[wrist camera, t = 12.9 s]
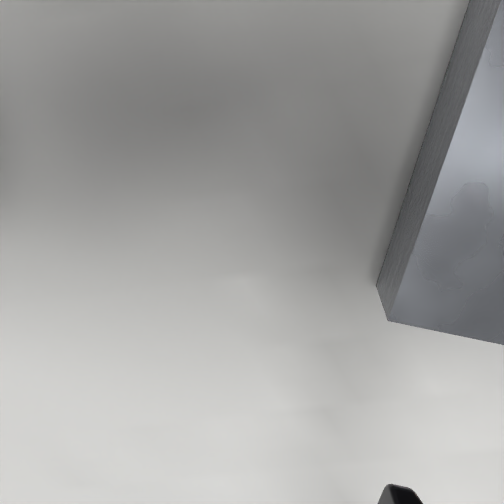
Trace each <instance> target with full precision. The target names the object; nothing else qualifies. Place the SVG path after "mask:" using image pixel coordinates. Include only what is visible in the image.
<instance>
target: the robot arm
mask: <svg viewBox="0 0 504 504" xmlns="http://www.w3.org/2000/svg"><path fill="white" fill-rule="evenodd" d="M378 504H423V503H422V501H421V500H420V499H419V497H418V496H417V494H416V493H415V492H414V491H413V490H412V489H410V488H408V487H403V486H399V485H394V484H388V485H387V486H385V488H384V490H383V492H382V495H381V497H380V499H379V502H378Z"/></svg>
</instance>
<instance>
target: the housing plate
mask: <svg viewBox="0 0 504 504" xmlns="http://www.w3.org/2000/svg"><path fill="white" fill-rule="evenodd" d="M376 287H377V290H378V293H379V296H380V299H381V302H382V305H383V308H384V311H385V314H386V317H387V320H388V321H391V322H396V323H401V324H406V325H410V326H415V327H420V328H425V329H430V330H434V331H439V332H444V333H449V334H454V335H459V336H463V337H468V338H473V339H478V340H483V341H487V342H492V343H497V344H502V345H504V0H470V2H469V5H468V8H467V11H466V14H465V17H464V20H463V23H462V26H461V29H460V32H459V36H458V39H457V42H456V45H455V48H454V51H453V54H452V57H451V60H450V63H449V66H448V69H447V72H446V75H445V78H444V81H443V84H442V87H441V90H440V93H439V96H438V99H437V102H436V105H435V108H434V112H433V115H432V118H431V121H430V124H429V127H428V130H427V133H426V136H425V139H424V142H423V145H422V148H421V151H420V154H419V157H418V160H417V163H416V166H415V169H414V172H413V175H412V178H411V181H410V184H409V187H408V191H407V194H406V197H405V200H404V203H403V206H402V209H401V212H400V215H399V218H398V221H397V224H396V227H395V230H394V233H393V236H392V239H391V242H390V245H389V248H388V251H387V254H386V257H385V260H384V263H383V266H382V270H381V273H380V276H379V279H378V282H377V285H376Z"/></svg>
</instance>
